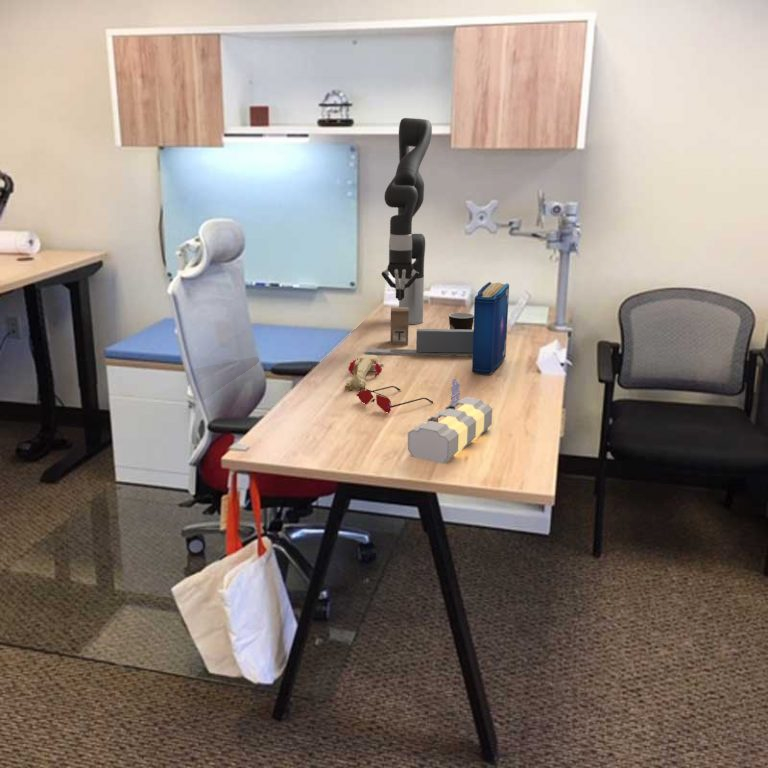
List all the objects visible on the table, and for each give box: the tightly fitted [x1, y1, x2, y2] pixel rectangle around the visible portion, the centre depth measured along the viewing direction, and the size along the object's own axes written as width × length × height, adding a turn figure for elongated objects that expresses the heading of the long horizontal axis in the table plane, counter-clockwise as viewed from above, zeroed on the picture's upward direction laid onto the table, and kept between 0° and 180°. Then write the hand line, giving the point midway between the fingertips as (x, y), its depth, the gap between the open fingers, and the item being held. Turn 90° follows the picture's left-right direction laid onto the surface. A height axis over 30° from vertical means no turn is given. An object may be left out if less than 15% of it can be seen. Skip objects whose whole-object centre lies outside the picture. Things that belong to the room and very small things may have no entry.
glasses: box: [355, 385, 434, 414], centre depth 222 cm, size 14×16×5 cm
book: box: [471, 281, 510, 375], centre depth 252 cm, size 22×7×25 cm, turn 161°
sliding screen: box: [415, 328, 474, 353], centre depth 268 cm, size 3×22×7 cm, turn 88°
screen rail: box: [364, 348, 473, 357], centre depth 270 cm, size 4×40×1 cm, turn 88°
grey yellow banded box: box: [407, 378, 493, 465], centre depth 193 cm, size 25×10×13 cm, turn 151°
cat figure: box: [344, 353, 384, 392], centre depth 242 cm, size 10×9×25 cm
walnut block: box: [389, 306, 409, 346], centre depth 280 cm, size 6×6×12 cm
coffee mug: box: [448, 312, 474, 330], centre depth 282 cm, size 12×9×10 cm
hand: (399, 299), depth 274 cm, fingers closed
